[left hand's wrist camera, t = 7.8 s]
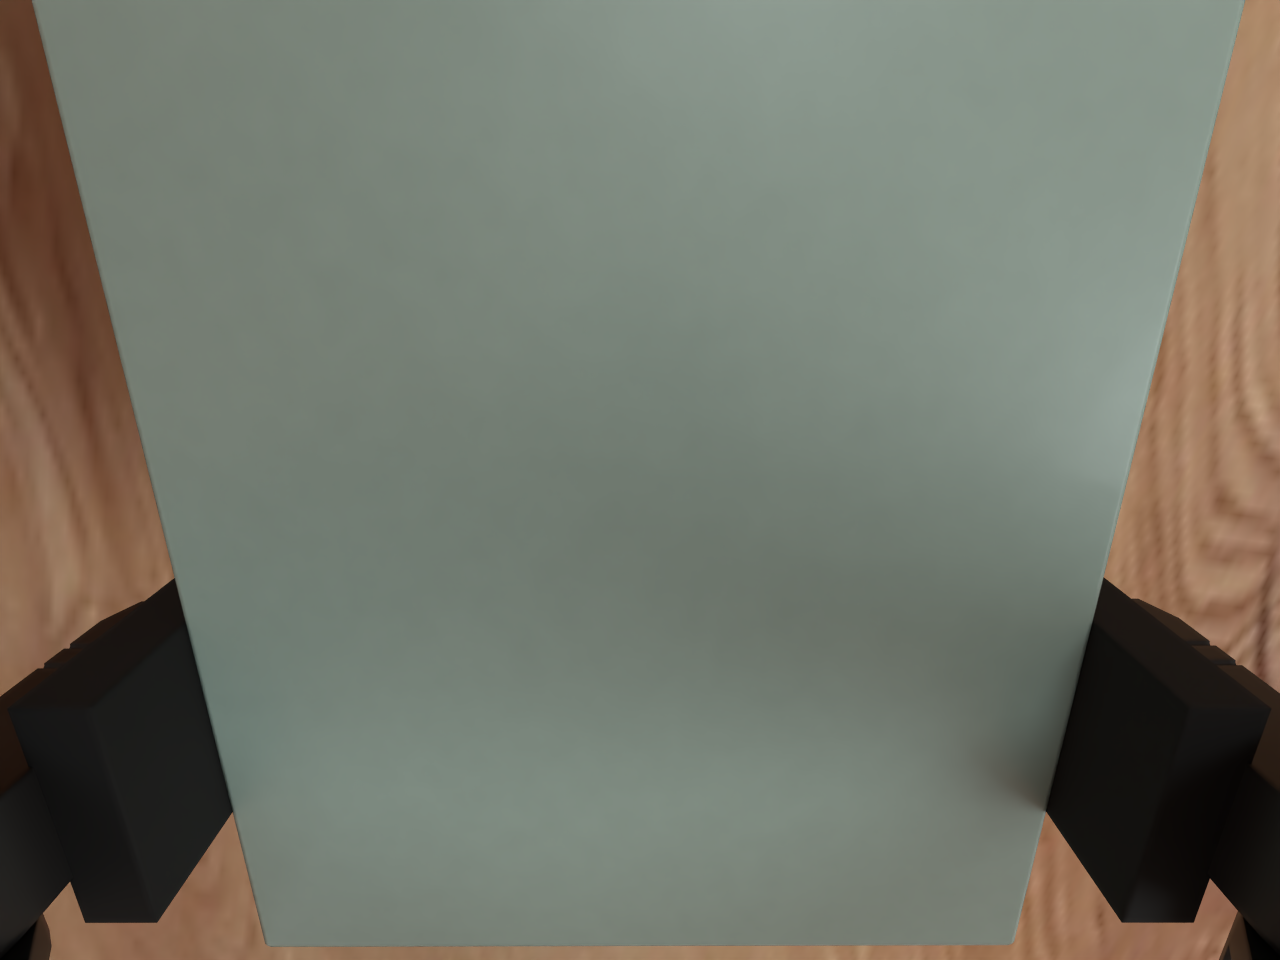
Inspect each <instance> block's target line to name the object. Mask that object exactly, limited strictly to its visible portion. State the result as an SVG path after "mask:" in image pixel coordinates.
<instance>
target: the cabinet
mask: <svg viewBox="0 0 1280 960" xmlns="http://www.w3.org/2000/svg"><path fill="white" fill-rule="evenodd" d="M1244 3H1245V0H32V4H33V8H34V12H35V16H36V20H37V24H38V28H39V32H40V36H41V40H42V44H43V48H44V52H45V56H46V60H47V64H48V68H49V72H50V76H51V80H52V84H53V88H54V92H55V96H56V100H57V104H58V108H59V112H60V117H61V121H62V125H63V129H64V133H65V137H66V141H67V145H68V149H69V153H70V157H71V161H72V165H73V169H74V173H75V177H76V181H77V185H78V189H79V193H80V197H81V201H82V205H83V209H84V213H85V217H86V221H87V225H88V230H89V234H90V238H91V242H92V246H93V250H94V254H95V258H96V262H97V266H98V270H99V274H100V278H101V282H102V286H103V290H104V294H105V298H106V302H107V306H108V310H109V314H110V318H111V322H112V326H113V330H114V334H115V339H116V343H117V347H118V351H119V355H120V359H121V363H122V367H123V371H124V375H125V379H126V383H127V387H128V391H129V395H130V399H131V403H132V407H133V411H134V415H135V419H136V423H137V427H138V431H139V435H140V439H141V443H142V447H143V452H144V456H145V460H146V464H147V468H148V472H149V476H150V480H151V484H152V488H153V492H154V496H155V500H156V504H157V508H158V512H159V516H160V520H161V524H162V528H163V532H164V536H165V540H166V544H167V548H168V552H169V556H170V561H171V565H172V569H173V573H174V577H175V581H176V585H177V589H178V593H179V597H180V601H181V605H182V609H183V613H184V617H185V621H186V625H187V629H188V633H189V637H190V641H191V645H192V649H193V653H194V657H195V661H196V665H197V669H198V674H199V678H200V682H201V686H202V690H203V694H204V698H205V702H206V706H207V710H208V714H209V718H210V722H211V726H212V730H213V734H214V738H215V742H216V746H217V750H218V754H219V758H220V762H221V766H222V770H223V774H224V778H225V782H226V787H227V791H228V795H229V799H230V803H231V807H232V811H233V815H234V819H235V823H236V827H237V831H238V835H239V839H240V843H241V847H242V851H243V855H244V859H245V863H246V867H247V871H248V875H249V879H250V883H251V887H252V891H253V896H254V900H255V904H256V908H257V912H258V916H259V920H260V924H261V928H262V932H263V936H264V940H265V944H266V945H268V946H270V947H372V946H808V945H1010V944H1012V943H1013V942H1014V939H1015V935H1016V931H1017V927H1018V923H1019V919H1020V915H1021V911H1022V907H1023V902H1024V898H1025V894H1026V890H1027V886H1028V882H1029V878H1030V874H1031V870H1032V866H1033V862H1034V858H1035V854H1036V850H1037V846H1038V841H1039V837H1040V833H1041V829H1042V825H1043V821H1044V817H1045V813H1046V809H1047V805H1048V801H1049V797H1050V793H1051V789H1052V784H1053V780H1054V776H1055V772H1056V768H1057V764H1058V760H1059V756H1060V752H1061V748H1062V744H1063V740H1064V736H1065V732H1066V727H1067V723H1068V719H1069V715H1070V711H1071V707H1072V703H1073V699H1074V695H1075V691H1076V687H1077V683H1078V679H1079V675H1080V670H1081V666H1082V662H1083V658H1084V654H1085V650H1086V646H1087V642H1088V638H1089V634H1090V630H1091V626H1092V622H1093V618H1094V613H1095V609H1096V605H1097V601H1098V597H1099V593H1100V589H1101V585H1102V581H1103V577H1104V573H1105V569H1106V565H1107V561H1108V556H1109V552H1110V548H1111V544H1112V540H1113V536H1114V532H1115V528H1116V524H1117V520H1118V516H1119V512H1120V508H1121V504H1122V500H1123V495H1124V491H1125V487H1126V483H1127V479H1128V475H1129V471H1130V467H1131V463H1132V459H1133V455H1134V451H1135V447H1136V443H1137V438H1138V434H1139V430H1140V426H1141V422H1142V418H1143V414H1144V410H1145V406H1146V402H1147V398H1148V394H1149V390H1150V386H1151V381H1152V377H1153V373H1154V369H1155V365H1156V361H1157V357H1158V353H1159V349H1160V345H1161V341H1162V337H1163V333H1164V329H1165V324H1166V320H1167V316H1168V312H1169V308H1170V304H1171V300H1172V296H1173V292H1174V288H1175V284H1176V280H1177V276H1178V272H1179V267H1180V263H1181V259H1182V255H1183V251H1184V247H1185V243H1186V239H1187V235H1188V231H1189V227H1190V223H1191V219H1192V215H1193V210H1194V206H1195V202H1196V198H1197V194H1198V190H1199V186H1200V182H1201V178H1202V174H1203V170H1204V166H1205V162H1206V158H1207V154H1208V149H1209V145H1210V141H1211V137H1212V133H1213V129H1214V125H1215V121H1216V117H1217V113H1218V109H1219V105H1220V101H1221V97H1222V92H1223V88H1224V84H1225V80H1226V76H1227V72H1228V68H1229V64H1230V60H1231V56H1232V52H1233V48H1234V44H1235V40H1236V35H1237V31H1238V27H1239V23H1240V19H1241V15H1242V11H1243V7H1244Z"/></svg>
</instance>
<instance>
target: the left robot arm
mask: <svg viewBox="0 0 1280 960" xmlns="http://www.w3.org/2000/svg"><path fill="white" fill-rule="evenodd" d="M1209 642H1210V641H1209V640H1207V639H1206V638H1205V637H1203V636H1202V635H1201V634H1199V633H1198V632H1197V631H1195V630H1194V629H1193V628H1191V627H1190V626H1189V625H1187V624H1186V623H1185V622H1183V621H1182V620H1181V619H1179V618H1178V617H1175V616H1173V615H1171V614H1169V613H1167V612H1165V611H1163V610H1161V609H1159V608H1157V607H1154V606H1152V605H1150V604H1148V603H1146V602H1144V601H1142V600H1140V599H1131V598H1129V597H1128V596H1127V595H1126V594H1124V593H1123V592H1122V591H1120V590H1119V589H1118V588H1117V587H1115V586H1114V585H1113V584H1111V583H1110V582H1109V581H1108V580H1106V579H1105V578H1104V577H1103V581H1102V585H1101V589H1100V593H1099V597H1098V601H1097V605H1096V609H1095V613H1094V618H1093V622H1092V626H1091V630H1090V634H1089V638H1088V642H1087V646H1086V650H1085V654H1084V658H1083V662H1082V666H1081V670H1080V675H1079V679H1078V683H1077V687H1076V691H1075V695H1074V699H1073V703H1072V707H1071V711H1070V715H1069V719H1068V723H1067V727H1066V732H1065V736H1064V740H1063V744H1062V748H1061V752H1060V756H1059V760H1058V764H1057V768H1056V772H1055V776H1054V780H1053V784H1052V789H1051V793H1050V797H1049V801H1048V805H1047V809H1046V812H1047V813H1048V815H1049V816H1050V818H1051V819H1052V821H1053V822H1054V824H1055V825H1056V826H1057V828H1058V829H1059V831H1060V832H1061V834H1062V835H1063V837H1064V838H1065V840H1066V841H1067V843H1068V844H1069V846H1070V847H1071V848H1072V850H1073V851H1074V853H1075V854H1076V856H1077V857H1078V859H1079V860H1080V862H1081V863H1082V865H1083V866H1084V868H1085V869H1086V871H1087V872H1088V873H1089V875H1090V876H1091V878H1092V879H1093V881H1094V882H1095V884H1096V885H1097V887H1098V888H1099V890H1100V891H1101V893H1102V894H1103V895H1104V897H1105V898H1106V900H1107V901H1108V903H1109V904H1110V906H1111V907H1112V909H1113V910H1114V912H1115V913H1116V915H1117V916H1118V917H1119V919H1120V920H1121V922H1142V923H1194V920H1195V917H1196V915H1197V912H1198V909H1199V906H1200V904H1201V901H1202V898H1203V895H1204V893H1205V890H1206V887H1207V885H1208V882H1209V879H1211V880H1212V881H1213V882H1214V883H1215V884H1216V886H1217V887H1218V888H1219V889H1220V890H1221V891H1222V893H1223V894H1224V895H1225V896H1226V897H1227V898H1228V900H1229V901H1230V902H1231V903H1232V904H1233V905H1234V907H1235V908H1236V909H1237V910H1238V912H1237V915H1236V918H1235V920H1234V923H1233V925H1232V928H1231V930H1230V933H1229V935H1228V938H1227V941H1226V943H1225V946H1224V948H1223V951H1222V953H1221V956H1220V958H1219V960H1280V693H1278V692H1277V691H1276V690H1274V689H1273V688H1272V687H1270V686H1269V685H1268V684H1266V683H1265V682H1264V681H1262V680H1261V679H1260V678H1258V677H1257V676H1256V675H1254V674H1253V673H1252V672H1250V671H1249V670H1248V669H1246V668H1245V667H1244V666H1242V665H1236V663H1235V660H1234V659H1233V658H1232V657H1230V656H1229V655H1228V654H1226V653H1225V652H1224V651H1222V650H1221V649H1220V648H1218V647H1217V646H1210V643H1209ZM44 665H45V666H44V668H42V669H36V670H35V671H34V672H32V673H31V674H30V675H28V676H27V677H26V678H24V679H23V680H22V681H20V682H19V683H18V684H16V685H15V686H14V687H12V688H11V689H10V690H8V691H7V692H6V693H4V694H3V695H2V696H0V960H49V957H50V952H51V939H50V931H49V928H48V925H47V923H46V920H45V918H44V915H43V912H44V911H45V910H46V909H47V908H48V906H49V905H50V904H51V903H52V902H53V901H54V899H55V898H56V897H57V896H58V895H59V894H60V892H61V891H62V890H63V889H64V888H65V887H66V885H67V884H68V883H69V882H71V885H72V888H73V890H74V893H75V896H76V899H77V901H78V904H79V907H80V909H81V912H82V915H83V918H84V920H85V923H157V922H158V921H159V919H160V918H161V916H162V915H163V913H164V912H165V910H166V909H167V907H168V906H169V904H170V903H171V901H172V900H173V899H174V897H175V896H176V894H177V893H178V891H179V890H180V888H181V887H182V885H183V884H184V882H185V881H186V879H187V878H188V877H189V875H190V874H191V872H192V871H193V869H194V868H195V866H196V865H197V863H198V862H199V860H200V859H201V857H202V856H203V855H204V853H205V852H206V850H207V849H208V847H209V846H210V844H211V843H212V841H213V840H214V838H215V837H216V835H217V834H218V833H219V831H220V830H221V828H222V827H223V825H224V824H225V822H226V821H227V819H228V818H229V816H230V815H231V813H232V812H233V811H232V807H231V803H230V799H229V795H228V791H227V787H226V782H225V778H224V774H223V770H222V766H221V762H220V758H219V754H218V750H217V746H216V742H215V738H214V734H213V730H212V726H211V722H210V718H209V714H208V710H207V706H206V702H205V698H204V694H203V690H202V686H201V682H200V678H199V674H198V669H197V665H196V661H195V657H194V653H193V649H192V645H191V641H190V637H189V633H188V629H187V625H186V621H185V617H184V613H183V609H182V605H181V601H180V597H179V593H178V589H177V585H176V581H175V578H174V579H173V580H171V581H170V582H169V583H168V584H166V585H165V586H164V587H162V588H161V589H160V590H159V591H157V592H156V593H155V594H153V595H152V596H151V597H150V598H148V599H147V600H146V601H144V602H139V603H137V604H135V605H133V606H131V607H129V608H127V609H125V610H123V611H121V612H118V613H116V614H114V615H112V616H110V617H108V618H106V619H104V620H102V621H100V622H99V623H97V624H96V625H95V626H93V627H92V628H91V629H89V630H88V631H87V632H85V633H84V634H83V635H82V636H80V637H79V638H78V639H76V640H75V641H74V642H72V643H71V644H70V648H69V649H63V650H62V651H60V652H59V653H58V654H56V655H55V656H54V657H52V658H51V659H50V660H48V661H47V662H46V663H44Z"/></svg>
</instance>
